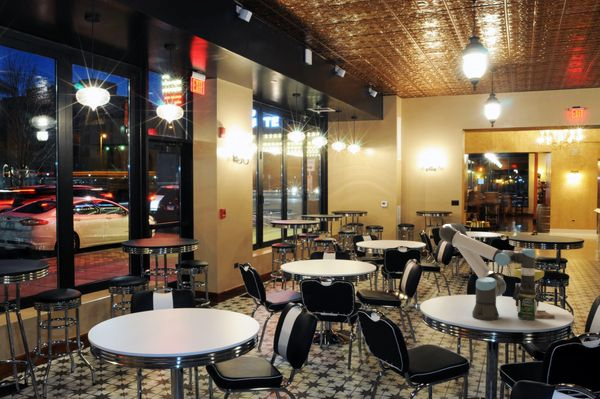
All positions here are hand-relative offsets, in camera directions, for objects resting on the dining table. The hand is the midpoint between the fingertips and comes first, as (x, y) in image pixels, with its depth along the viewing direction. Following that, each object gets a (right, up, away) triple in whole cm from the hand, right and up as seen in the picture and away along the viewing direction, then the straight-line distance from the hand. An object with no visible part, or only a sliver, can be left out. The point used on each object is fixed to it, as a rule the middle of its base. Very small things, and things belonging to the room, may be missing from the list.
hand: (526, 311), depth 305 cm
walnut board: (+11, -4, +9) cm, 15 cm away
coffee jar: (0, -4, 0) cm, 4 cm away
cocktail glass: (+15, -4, +31) cm, 35 cm away
